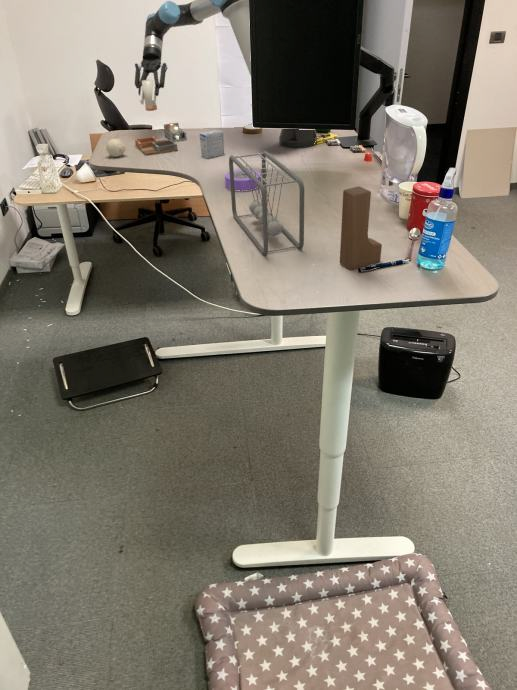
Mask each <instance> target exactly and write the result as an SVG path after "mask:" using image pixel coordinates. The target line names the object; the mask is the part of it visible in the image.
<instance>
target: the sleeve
mask: <svg viewBox="0 0 517 690" xmlns="http://www.w3.org/2000/svg"><path fill="white" fill-rule="evenodd" d="M142 86H143V93H144V105H145V106H144V107H145V111H146V112H152V111H157V110H158V106H157V103H156V104H153V102H152V93H153V86H154V81H153V79H146V80H143V81H142Z"/></svg>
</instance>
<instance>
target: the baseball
mask: <svg viewBox="0 0 517 690" xmlns="http://www.w3.org/2000/svg"><path fill="white" fill-rule="evenodd" d="M105 145H106V146H105V149H106V152H107V153H108V155H109V156H111V157H114V158H118V157H121V156H122V155H123V154H124V153H125V152H126V145H125V143H124V142H123V141H122V140H121V139H119V138H111V139H108V141H106V144H105Z"/></svg>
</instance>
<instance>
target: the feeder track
mask: <svg viewBox="0 0 517 690" xmlns="http://www.w3.org/2000/svg"><path fill="white" fill-rule="evenodd" d="M163 131H164V136H165V138H166V137H167V138H168V139H167V138H166V139H167V140H172V141H174V142H175V143H177V142H176V141H178V142H183V141H182V140H185V141H187V140H188V139H187V138H188V137H187V132H185V131H184V130H183V129H182V128H181V127H180V125H179V122H170V123H165V124H163Z"/></svg>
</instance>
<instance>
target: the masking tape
mask: <svg viewBox="0 0 517 690" xmlns="http://www.w3.org/2000/svg"><path fill="white" fill-rule="evenodd" d="M248 170H249V171H250V172H251V171H252V174H253V175H254V176H255V174H256V173H255V172H254V171H253V170H250V169H248ZM255 171H256V172H257V173H258V174H259V175H260V176H261V177H262V174H261V172H259V171H258V170H255ZM255 177H256V178H257V179H258V180H259V181H260V178H259V176H258V175H257V174H256V176H255ZM224 179H225V180H224V183H225V188H226V187H227V188H228V189H227V188H226V189H227V190H229V189H231V185H230V171H228V172H226V173H225V176H224ZM250 182H251V184H250ZM254 184H255V183H253V181H252V180H251V179H250V180H249V177H248V176H247V175H246V174H245V173H244V172H243V171H242V170H241V169H234V185H235V190H240V191H242V190H243V192H245V191H244V190H251V186H252V189H255V188H257V187H258V186H257V185H256V184H255V187H254ZM251 191H252V190H251Z"/></svg>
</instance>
